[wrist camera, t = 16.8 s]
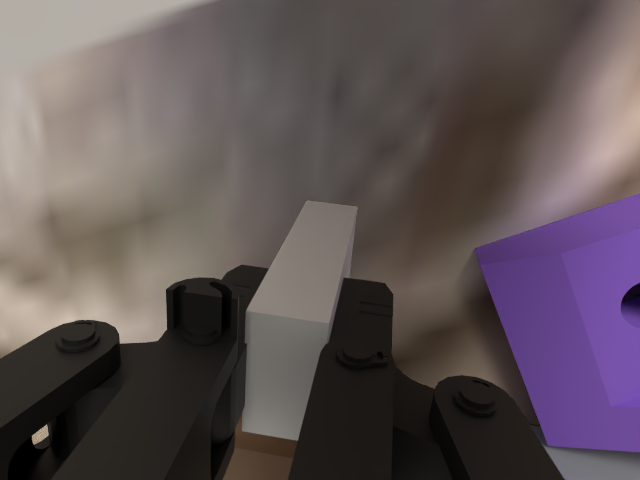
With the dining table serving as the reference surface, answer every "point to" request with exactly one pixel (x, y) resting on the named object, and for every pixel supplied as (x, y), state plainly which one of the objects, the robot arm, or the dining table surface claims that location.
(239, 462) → the dowel block
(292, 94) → the dining table surface
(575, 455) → the tray
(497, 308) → the bracket
